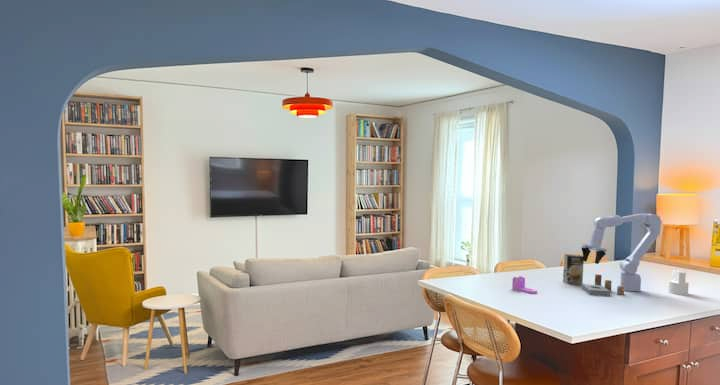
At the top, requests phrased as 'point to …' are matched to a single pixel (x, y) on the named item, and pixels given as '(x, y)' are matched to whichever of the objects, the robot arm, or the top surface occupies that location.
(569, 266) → the coffee box
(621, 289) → the short dowel
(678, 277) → the base with upright slab
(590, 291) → the hole board
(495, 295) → the top surface
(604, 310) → the top surface
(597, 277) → the tall dowel
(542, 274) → the top surface
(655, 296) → the top surface
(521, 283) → the bracket
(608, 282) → the mid dowel
